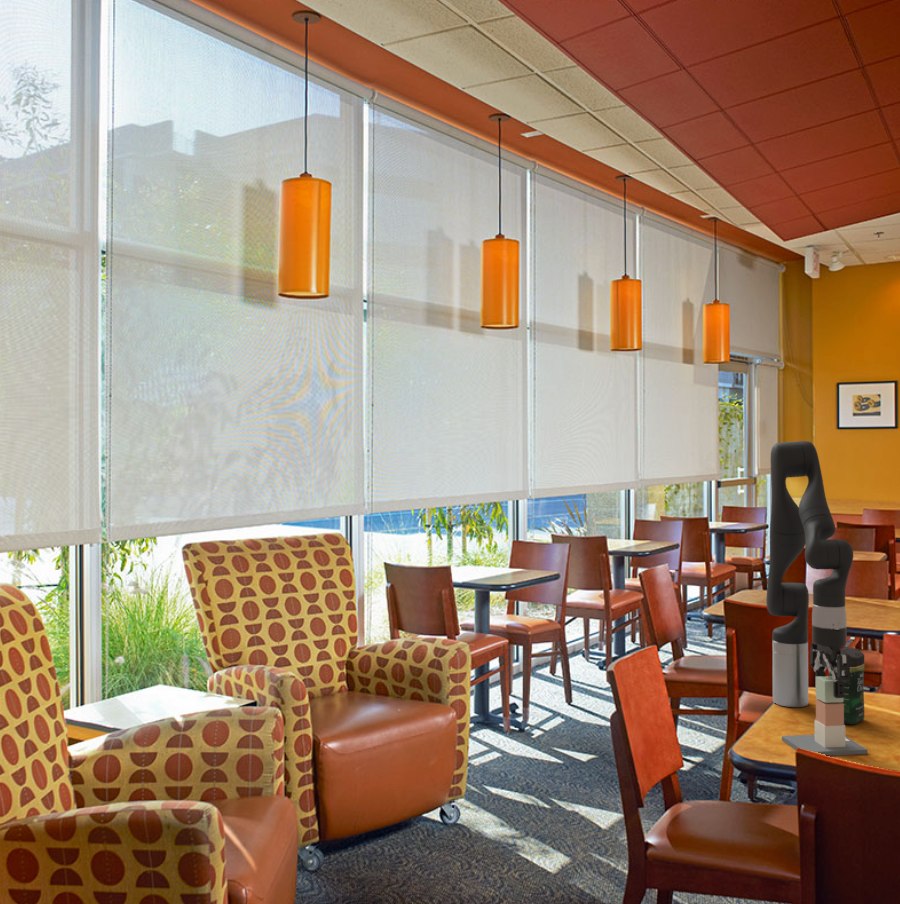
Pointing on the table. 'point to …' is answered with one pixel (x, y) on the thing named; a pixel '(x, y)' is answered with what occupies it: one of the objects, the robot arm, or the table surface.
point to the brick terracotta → (830, 713)
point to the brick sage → (825, 689)
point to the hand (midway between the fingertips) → (829, 692)
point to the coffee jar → (854, 687)
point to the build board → (818, 748)
